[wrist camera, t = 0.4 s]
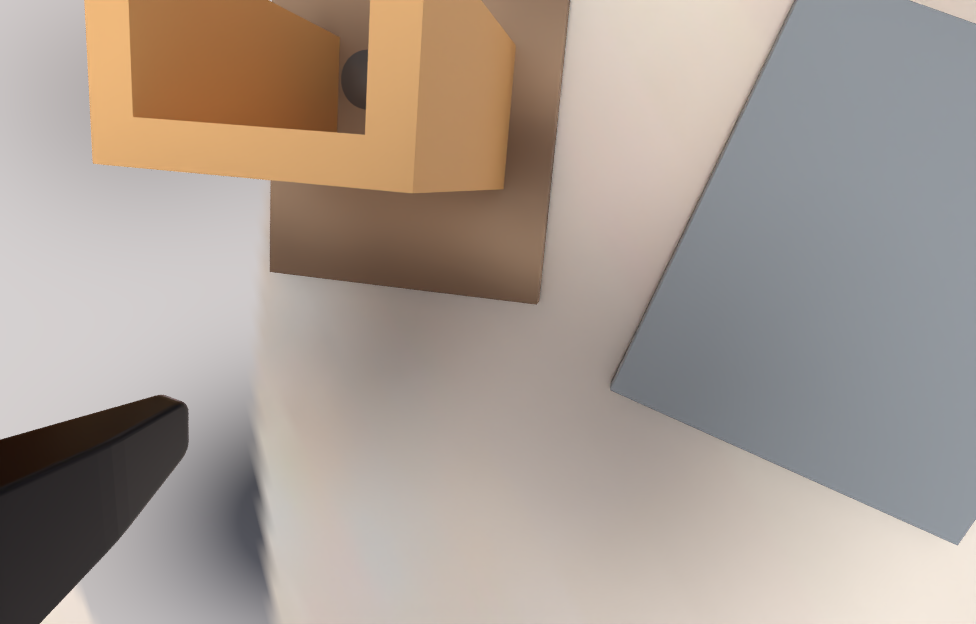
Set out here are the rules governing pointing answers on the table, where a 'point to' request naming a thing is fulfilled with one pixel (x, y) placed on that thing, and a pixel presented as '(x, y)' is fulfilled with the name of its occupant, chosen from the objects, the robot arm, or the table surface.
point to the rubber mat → (836, 267)
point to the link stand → (438, 215)
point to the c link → (301, 93)
